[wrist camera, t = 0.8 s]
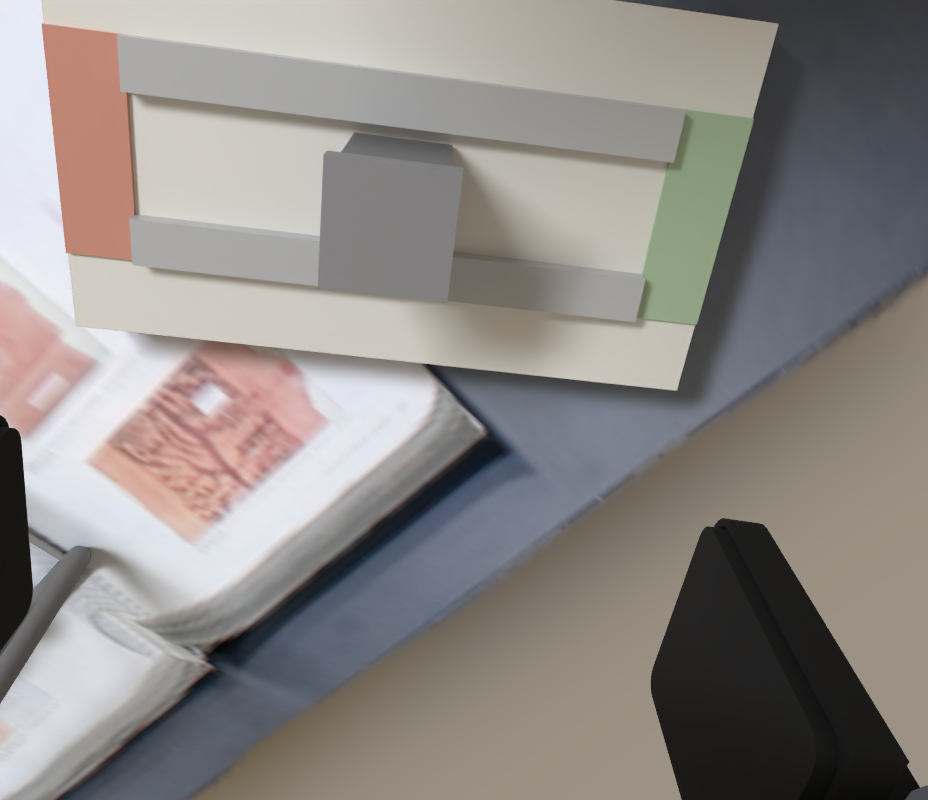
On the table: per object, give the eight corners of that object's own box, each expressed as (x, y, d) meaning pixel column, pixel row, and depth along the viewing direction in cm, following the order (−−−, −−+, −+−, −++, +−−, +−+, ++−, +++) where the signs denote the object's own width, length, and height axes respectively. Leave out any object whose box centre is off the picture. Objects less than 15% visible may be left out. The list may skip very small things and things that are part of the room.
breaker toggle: (347, 123, 32) (323, 154, 26) (460, 138, 32) (463, 172, 26) (341, 235, 34) (317, 288, 28) (447, 247, 34) (447, 302, 28)
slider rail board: (68, -77, 31) (22, -85, 28) (752, 21, 33) (786, 24, 30) (101, 302, 39) (68, 332, 35) (661, 364, 41) (681, 398, 37)
